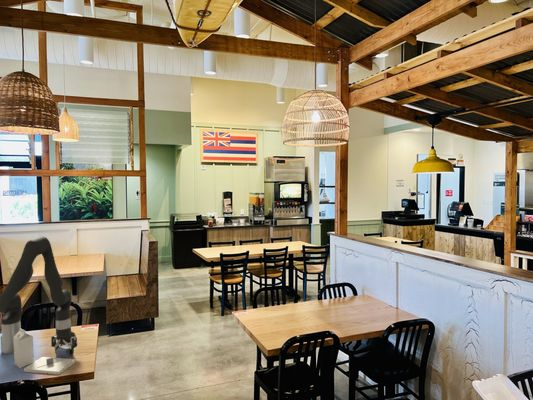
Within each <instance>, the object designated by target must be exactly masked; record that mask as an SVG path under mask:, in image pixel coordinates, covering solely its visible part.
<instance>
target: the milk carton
mask: <svg viewBox="0 0 533 400" xmlns="http://www.w3.org/2000/svg"><path fill="white" fill-rule="evenodd" d="M13 340H14V353H13V354H14V355H13V356H14V364H15V366H17V368H19V369H21V368H24V367H27V366H29V365H30V364H32V363H34V362H35V357H34V336H33V335H32V334H30V333H29V332H27V331H26V330H25V329H22V328H20V331H19V332H18V333H17V334H16V335H15V336H14V337H13Z"/></svg>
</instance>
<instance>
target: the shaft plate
mask: <svg viewBox="0 0 533 400" xmlns="http://www.w3.org/2000/svg"><path fill="white" fill-rule="evenodd" d="M75 363H76V359H74V358H67V359H64V358H56V357H54V356H51V357H47V356H42V357H40V358H38V359H37V360H34V363H32V364H29V365H26V366H25V368H24V367H23V372H24V373H26V372H27V373H37V374H47V373H48V375H60V374H61V373H63V372H64V371H65V370H67V369H68V368H69V367H71V366H72V365H73V364H75Z"/></svg>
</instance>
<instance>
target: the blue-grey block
mask: <svg viewBox="0 0 533 400" xmlns="http://www.w3.org/2000/svg"><path fill="white" fill-rule="evenodd" d="M69 349H70V348H69V347H68V346H66V345H62V346H61V345H60V346H59V348H58V349H56V353H55V358H64V359H70V358H71V356H70V352H69Z"/></svg>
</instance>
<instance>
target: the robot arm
mask: <svg viewBox="0 0 533 400" xmlns="http://www.w3.org/2000/svg"><path fill="white" fill-rule="evenodd" d="M40 255H41V256H42V258H43V262H44V272H43V276H44V279H45V281H46V284H47V286H48V287H49V294H50V299H51V301H52V303H53V304H54V305H55V306H57V308H56V310H55V334H54V335H52V336H51V338H50V339H51V340H50V343H51V344H50V346H51V347H52V348H54V353H55V354H56V349H58V348H59V347H60V346H61V345H62V344H63V345H66V346H68V347H69V348H70V349H69V352H70V357H71V356H73V355H74V353H75V348H77V347H78V340H77V339H76V337H77V336H75V337H71V331H72V321H71V312H70V310H71V304H72V294H71V292H70V291H69V289H63V285H64V282H63V280H62V279H63V278H62V277H61V274H60V272H59V270H58V268H57V263H56V260H55V256H54V252H53V248H52V244H51V242H50V240H49V238H47V237H45V236H38V237H35V238H33V239H30V240H27V242H26V243H25V245H24V247H23V250H22V253H21V256H20V259H19V260H18V263H17V265H16V267H15V268H14V270H13V272H12V274H11V276H10V279H9V281H8V282H7V284H6V286H5V288H4V290H3V291H2V292H1V294H0V313H1V314H3V313H6V314H5V315H4V316H2V317H1V319H0V323H1V324H0V325H1V335H0V351H1V353H3V354H5V355H12V354H14V340H13V337H14V336H15V335H16V334H17V333H18V332H19V331H20V328H21V327H22V325H21V317H22V297H21V296H20V294H18V293H19V292H20V291H22V290H23V289H24V288H25V287H26V286H27V285H28V284H29V282H30V280H31V279H32V277H33V274H34V267H33V264H34V262H35V260H36V258H37V257H38V256H40Z"/></svg>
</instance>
